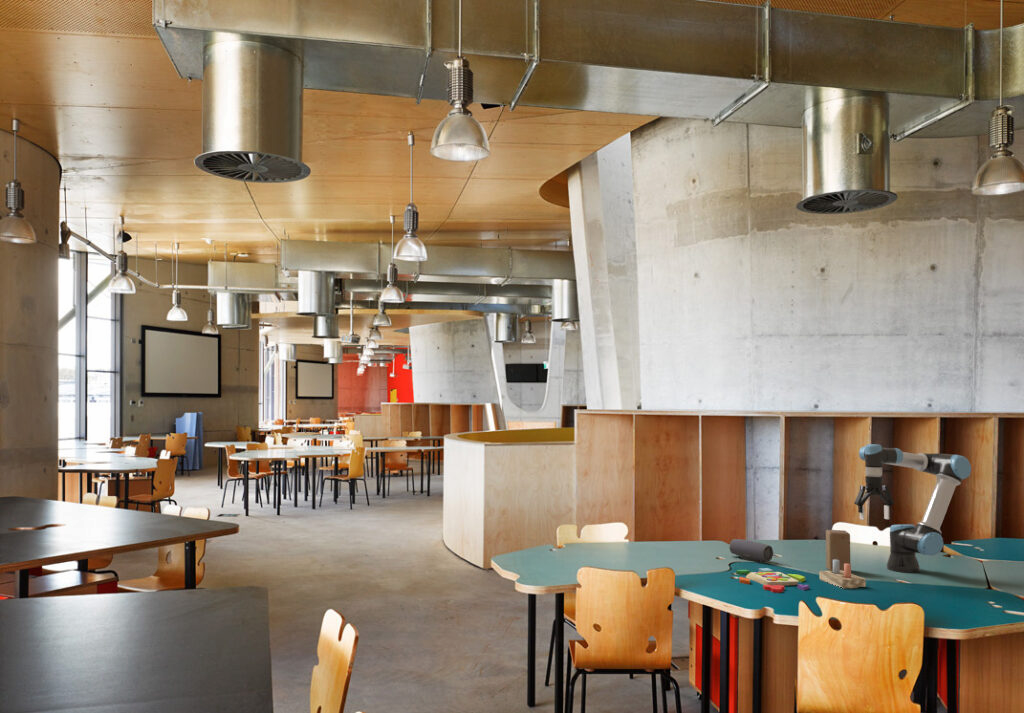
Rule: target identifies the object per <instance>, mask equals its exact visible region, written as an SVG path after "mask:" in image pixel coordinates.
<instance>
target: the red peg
mask: <svg viewBox="0 0 1024 713" xmlns="http://www.w3.org/2000/svg"><path fill="white" fill-rule="evenodd" d="M851 574H852V564H851V563H850V564H844V578H851Z"/></svg>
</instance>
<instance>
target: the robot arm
mask: <svg viewBox="0 0 1024 713" xmlns="http://www.w3.org/2000/svg"><path fill="white" fill-rule="evenodd" d="M858 457H859V458H860V460H861V461H865V466H864V467H865V473H864V474H865V477H864V478H865V485H860V486H859V491H858V493H857V496H856V498H855V500H854V503H853V504H854V505H856V506H857V507H858V513H859V519H860V520H861V521H862V520H863V521H864V520H865V517H866V516H865V514H866V513H865V506H864V505H865V503H867V500H868V499H869V498H870V497H871V496H879V498H880V499H881V500H882V502H883V504H885V505H883V515H884V516H883V519H885V520H890V513H891V507H892V506H893V505H894V504H895V502H894V499H893V497H892V495H891V493H890V490H889V486H888V485H884V484H883V464H885V465H890V466H891V465H892V466H898V467H905V468H910V469H915V470H916V471H918V472H922V473H923V472H924V473H927V474H931V475H934V476H935V478H936V483H935V485H934V487H933V489H932V493H931V496H930V498H929V501H928V503H927V505H926V508H925V510H924V513H923V516H922V519H921V521H920V522H917V523H916V524H892V525H891V526H890V528H889V529H890V530H889V544H890V545H889V547H890V548H889V550H890V551H889V552H890V554H889V556H888V560H887V563H886V568H887V569H888V570H891V571H893V572H899V573H911V574H912V573H913V574H914V573H919V572H920V570H921V569H920V564H919V561H918V559H917V555H916V554H921V555H924V556H935V555H938V554H939V553H941V551H942V549H943V547H944V538H943V537H942V531H941V526H942V524H943V521H944V519H945V515H946V514H947V511H948V507H949V505H950V502H951V500H952V497H953V495H954V492H955V490H956V487H957V486H959V485H961V483H962V481H963V480H965V479H967V478H969V477H970V475H971V472H972V466H971V464H970V461H969V460H968V458H967V457H965V456H963V455H959V454H950V453H940V452H939V453H925V452H918V453H911V452H905V451H902V450H901V449H900V448H897V447H890V448H889V447H882V444H877V443H875V444H872V443H869V444H866V445H865V446H862V447H861V448H860V449H859V452H858ZM882 484H883V485H882Z"/></svg>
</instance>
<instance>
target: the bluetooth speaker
mask: <svg viewBox="0 0 1024 713" xmlns="http://www.w3.org/2000/svg"><path fill="white" fill-rule="evenodd" d="M728 549H729V551H730V553H731V554H733V555H736V556H740V557H741V558H742V559H744V560H748V561H752V562H761V561H763V562H764V561H765V562H769V561H771V560H772V558H773V557H774V549H773V547H772V546H771V545H769V544H766V543H761V542H757V541H753V540H747V539H741V538H733V539H732V540H730V543H729V547H728Z"/></svg>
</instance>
